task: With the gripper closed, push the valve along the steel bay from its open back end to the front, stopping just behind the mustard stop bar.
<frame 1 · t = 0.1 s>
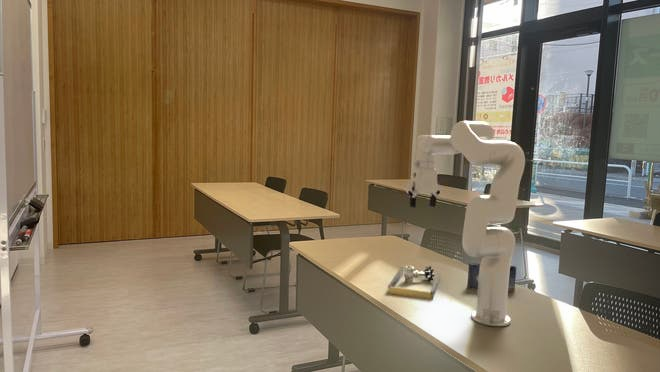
hand: (422, 206, 204), 31 cm above the table, tool pointing down, fingers open, 9 cm apart
bay: (415, 285, 200), on the table
valve: (417, 282, 205), resting in bay
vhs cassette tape: (490, 289, 200), on the table
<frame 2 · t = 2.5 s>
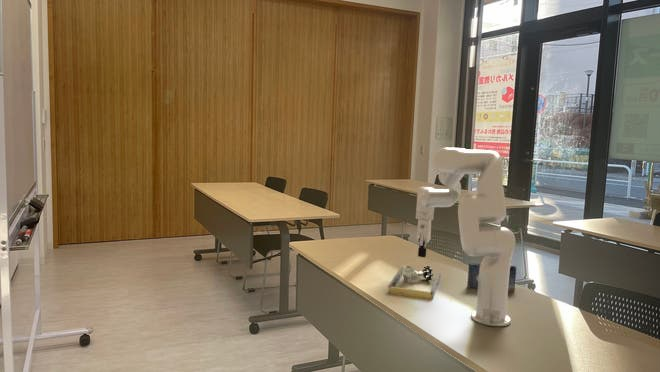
hand: (421, 256, 216), 8 cm above the table, tool pointing down, fingers closed
nothing on the table moved.
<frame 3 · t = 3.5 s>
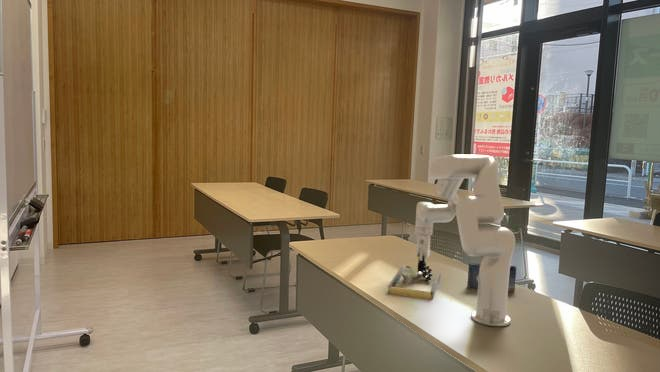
hand: (421, 271, 216), 1 cm above the table, tool pointing down, fingers closed
nothing on the table moved.
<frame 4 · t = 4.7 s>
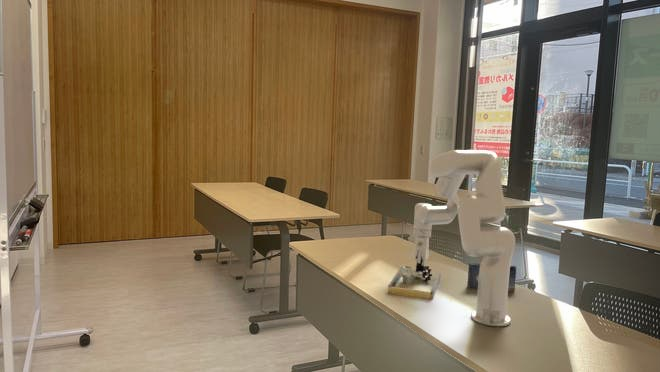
hand: (419, 274, 212), 1 cm above the table, tool pointing down, fingers closed
valve: (414, 282, 205), resting in bay, touching gripper
everything else where it was.
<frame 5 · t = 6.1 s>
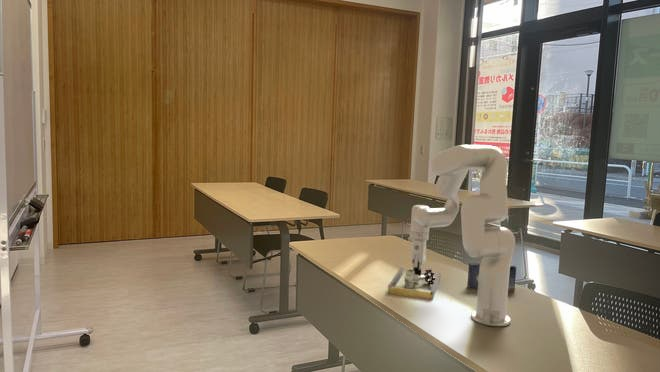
hand: (416, 278, 205), 1 cm above the table, tool pointing down, fingers closed
valve: (417, 286, 200), resting in bay, touching gripper
everything else where it was.
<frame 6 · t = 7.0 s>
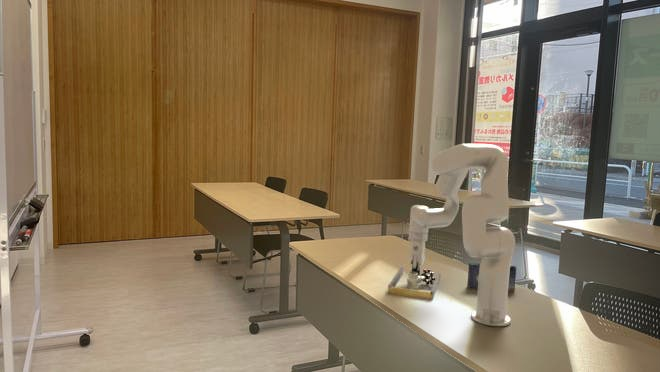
hand: (415, 279, 203), 2 cm above the table, tool pointing down, fingers closed
valve: (418, 287, 198), resting in bay, touching gripper
everything else where it was.
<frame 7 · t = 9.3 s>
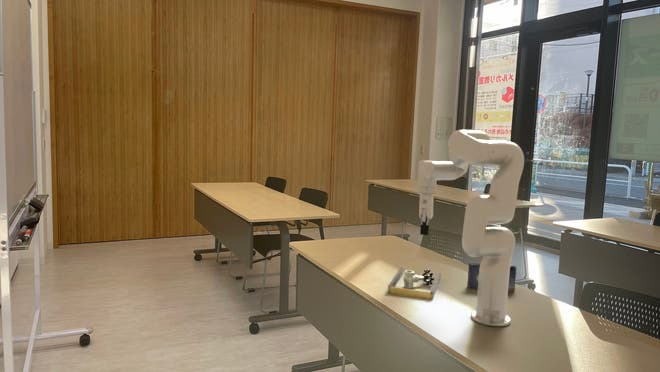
hand: (424, 234, 205), 20 cm above the table, tool pointing down, fingers closed
valve: (416, 286, 199), resting in bay
everything else where it was.
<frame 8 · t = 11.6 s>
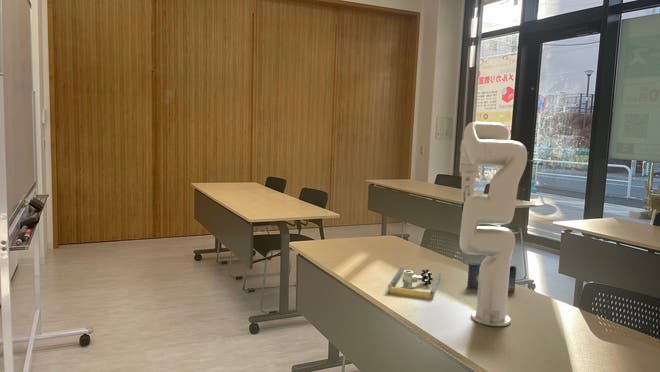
hand: (465, 212, 206), 29 cm above the table, tool pointing down, fingers closed
nothing on the table moved.
at the end: valve inside the target area on the bay (4.2 cm from its centre), point 0.0 cm above the bay's base; valve moved 6.3 cm from its start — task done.
